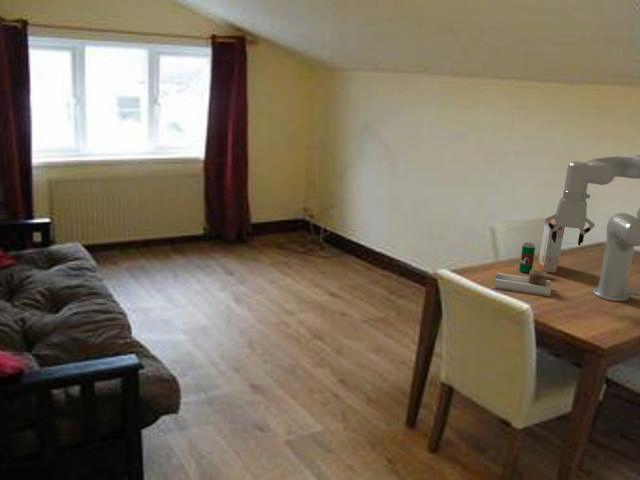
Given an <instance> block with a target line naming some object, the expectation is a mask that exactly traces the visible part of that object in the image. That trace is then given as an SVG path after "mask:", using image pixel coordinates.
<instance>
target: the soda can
mask: <svg viewBox="0 0 640 480" xmlns="http://www.w3.org/2000/svg"><path fill="white" fill-rule="evenodd" d="M521 246H522V247H521V255H520V259H519V260H520V262H519V267H518V270H519V272H520V273H523V274H530V270H533V266H534V258H535V252H536V245H535V243H533V242H523V245H521Z"/></svg>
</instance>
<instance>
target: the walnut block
mask: <svg viewBox="0 0 640 480" xmlns="http://www.w3.org/2000/svg"><path fill="white" fill-rule="evenodd" d="M528 274H529V275H528V277H529V280H528V284H534V285H541V286H546V280H547V278H548V272H543V271H542V270H535V269H532V270H530V273H528Z"/></svg>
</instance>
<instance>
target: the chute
mask: <svg viewBox="0 0 640 480" xmlns="http://www.w3.org/2000/svg"><path fill="white" fill-rule="evenodd" d="M528 280H529V276H520V275H515V274H514V275H513V274H509V273H508V274H507V273H500V272H496V275H495V281H494V289H500V290H501V289H502V290H507V291H514V292H522V293H526V294H534V295H540V296H547V297H550V296H551V293H552V287H551V282H552V281H551V280H546V286H541V285H534V284H528Z"/></svg>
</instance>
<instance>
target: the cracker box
mask: <svg viewBox="0 0 640 480" xmlns="http://www.w3.org/2000/svg"><path fill="white" fill-rule="evenodd" d="M548 217H549V216H546V217H545V220H544V226H543V233H542V238H541V244H540V249H539V250H540V251H539V256H538V261H537V262H538V264H539V266H540V269H541V271H543V272H547V273H550V274H557V271H558V267H559V266H558V265H559V262H560V256H561V251H562V244H563V238H564V234H565V228H566V227H562V226H560V227H559V228H558V229H557V236H556V242H553V239H552V232H553V231H552V229H551V228H550V227H549V225H548V223H547V222H546V218H548ZM551 223H552V224H553V226H554V225H555V224H556V222H555V219H553V220H551Z"/></svg>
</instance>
